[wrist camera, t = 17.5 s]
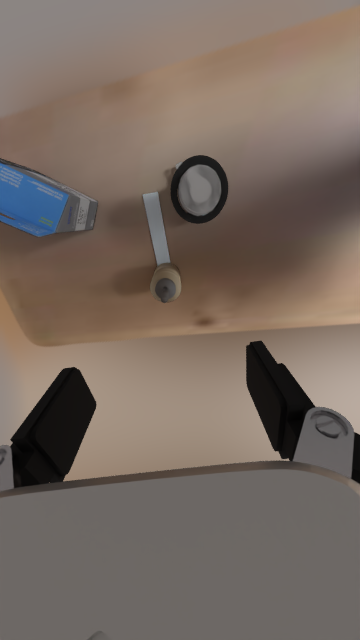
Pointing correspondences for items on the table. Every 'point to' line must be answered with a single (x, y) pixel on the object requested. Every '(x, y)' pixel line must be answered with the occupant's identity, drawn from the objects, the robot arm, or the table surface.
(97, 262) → the table surface
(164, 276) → the awl
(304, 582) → the robot arm
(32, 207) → the label tape cartridge
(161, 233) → the flat metal tool blade
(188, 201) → the push button
